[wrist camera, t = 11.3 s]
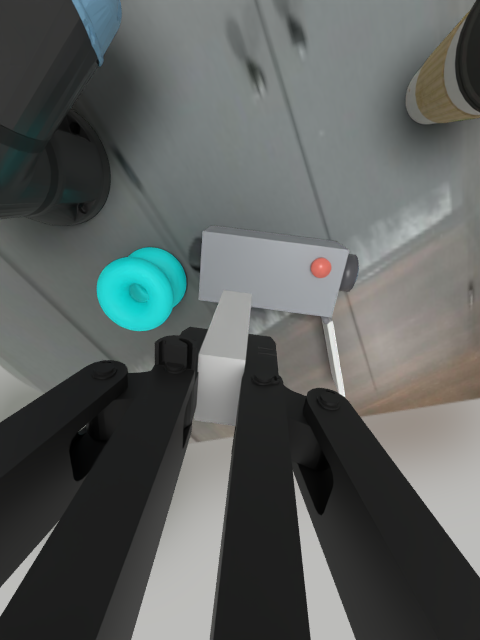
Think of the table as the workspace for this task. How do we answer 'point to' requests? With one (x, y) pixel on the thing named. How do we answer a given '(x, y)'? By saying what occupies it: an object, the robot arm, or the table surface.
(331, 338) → the side door
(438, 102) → the coffee cup
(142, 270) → the donuts
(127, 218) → the table surface
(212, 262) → the grey boxy piece
